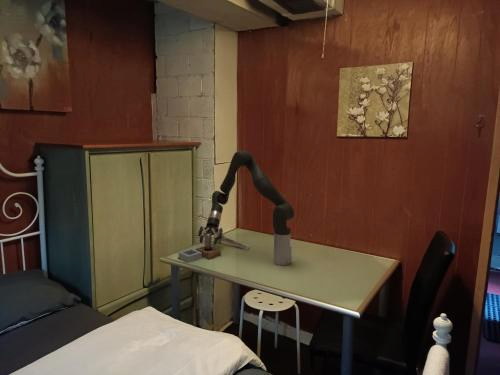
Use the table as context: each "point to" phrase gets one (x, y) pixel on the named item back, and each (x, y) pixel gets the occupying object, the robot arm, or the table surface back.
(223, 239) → the wrench
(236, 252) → the table surface
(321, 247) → the table surface
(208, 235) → the axle
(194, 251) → the seat block
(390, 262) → the table surface
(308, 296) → the table surface
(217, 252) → the beam block
